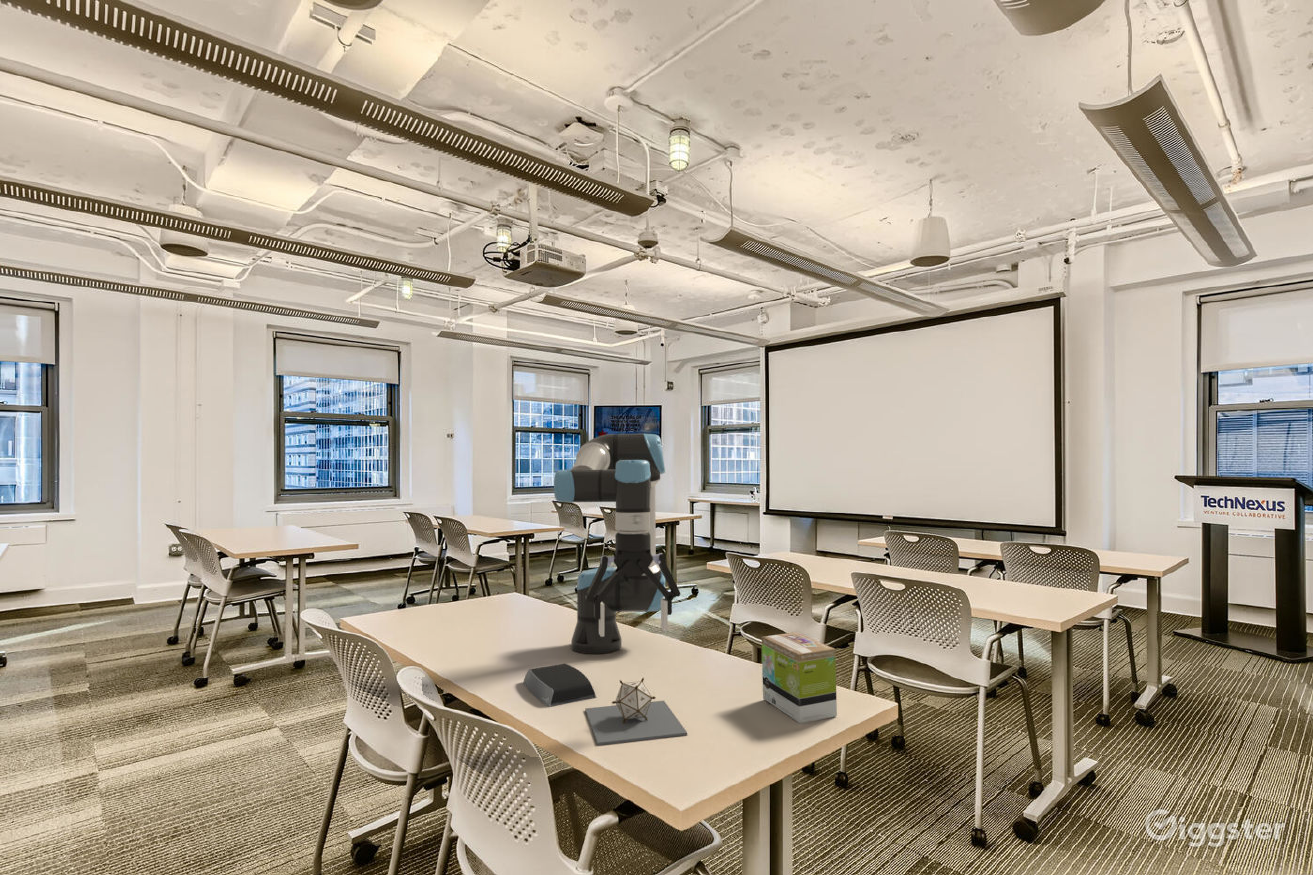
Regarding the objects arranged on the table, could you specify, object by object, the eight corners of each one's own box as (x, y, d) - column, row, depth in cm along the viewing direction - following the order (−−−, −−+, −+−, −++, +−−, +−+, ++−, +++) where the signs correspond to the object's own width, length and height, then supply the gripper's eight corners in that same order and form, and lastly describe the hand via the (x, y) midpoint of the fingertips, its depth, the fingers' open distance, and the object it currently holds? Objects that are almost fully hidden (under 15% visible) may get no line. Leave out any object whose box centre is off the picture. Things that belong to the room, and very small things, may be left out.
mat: (585, 710, 136) (585, 708, 136) (663, 702, 140) (663, 700, 140) (597, 745, 118) (597, 742, 118) (687, 735, 123) (687, 732, 123)
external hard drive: (545, 710, 137) (545, 691, 138) (520, 684, 154) (520, 667, 155) (599, 699, 144) (599, 681, 144) (569, 675, 161) (569, 659, 161)
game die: (639, 740, 128) (647, 712, 122) (603, 722, 130) (609, 693, 124) (656, 706, 135) (663, 677, 129) (621, 689, 137) (627, 660, 132)
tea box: (761, 700, 141) (760, 635, 142) (797, 694, 145) (796, 630, 146) (799, 724, 127) (797, 652, 128) (838, 717, 131) (837, 647, 132)
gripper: (576, 535, 125) (576, 641, 124) (693, 531, 131) (694, 632, 130) (572, 532, 132) (572, 632, 131) (683, 528, 138) (684, 624, 137)
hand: (633, 632), depth 130 cm, fingers open, 13 cm apart
